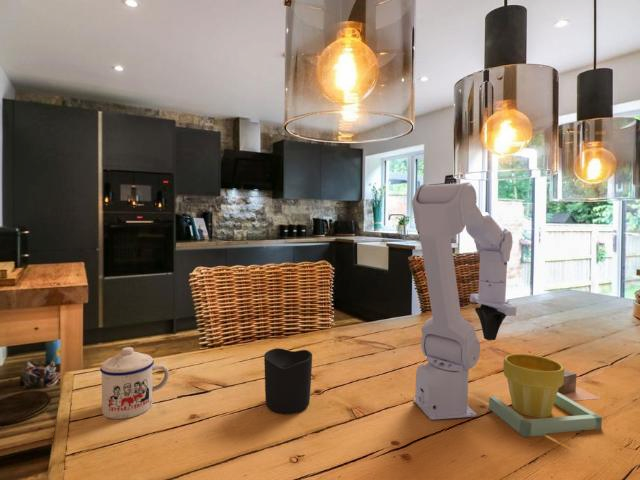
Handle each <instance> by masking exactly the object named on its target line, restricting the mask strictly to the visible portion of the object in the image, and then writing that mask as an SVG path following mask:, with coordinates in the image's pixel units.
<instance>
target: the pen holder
mask: <svg viewBox="0 0 640 480" xmlns="http://www.w3.org/2000/svg"><path fill="white" fill-rule="evenodd" d="M263 355H264V356H263V357H264V361H263V362H264V363H263V364H264V393H265V405H266V407H267V408H268V410H270V411H271V412H273V413H275V414H280V415H294V414H298V413H301V412H303V411H305V410H306V409H307V408H308V407H309V405H310V398H311V387H312V386H311V385H312V384H311V383H312V365H313V353H312V352H311V351H310V350H307V349H300V350H295V351H291V350H288V349H286V348H280V347H279V348H277V347H276V348H272V349H270V350H267V351H266V352H265V353H264V354H263Z"/></svg>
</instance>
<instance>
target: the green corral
mask: <svg viewBox="0 0 640 480" xmlns="http://www.w3.org/2000/svg"><path fill="white" fill-rule="evenodd" d="M554 405H556V406H557V407H559V408H561V409H562V410H564V411H566V412H567V413H568V414H571V415H570V416H569V415H567V416H554V417H542V418H541V417H539V418H530V419H528V418H525V417H524V416H522V415H521V414H519V412H518V411H517V410H516V411H515V409H514V408H511V407H510V406H508V404H506V403H505V402H503V400H502V399H499V398H498V397H496V396H495V395H494V396H493V395H492V396H489V398H488V409H489V410H490V411H491V412H493V413H494V414H495V415H496V416H497V417H499V418H500V419H501V420H502V421H504V422H505V423H506V424H507V425H508V426H510V427H511V428H513V429H514V430H515V432H517V433H518V434H519V435H521V436H522V437H524V438H530V437H532V438H533V437H541V436H548V434H553V433H564V432H565V433H567V432H577V431H589V430H600V429H602V422H603V417H602V416H600V415H599V414H597V413H595V412H593V411H592V410H590V409H589V408H586V407H585V406H582V405H581V404H579V403H577V402H575V401H572V400H571V399H569V398H567V397H565V396H564V395H562V394H560V393H558V392H557V395H556V398H555V402H554Z"/></svg>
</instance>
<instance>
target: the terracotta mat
mask: <svg viewBox="0 0 640 480" xmlns="http://www.w3.org/2000/svg"><path fill="white" fill-rule="evenodd" d="M560 394H561V393H560ZM562 395H563V394H562ZM564 396H565V397H567V398H569V399H571V400H572V401H574V402H575V401H587V400H588V401H589V400H600V399H601V398H600V397H599V396H596V395H594V394H593V393H590V392H588V391H586V390H585V389H583V388H581V387H579V386H577V385H576V392H573V393H569V394H565V395H564Z"/></svg>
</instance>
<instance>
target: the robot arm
mask: <svg viewBox="0 0 640 480" xmlns="http://www.w3.org/2000/svg"><path fill="white" fill-rule="evenodd" d="M411 207H412V211H413V217H414V218H413V219H414V222H415V223H414V225H415V230H416V231H417V232H419V237H420V238H419V239H420V245H421V253H422V261H423V265H424V271H425V278H426V279H425V280H426V283H427V284H426V285H427V291H428V298H429V302H430V304H429V305H430V309H431V317H430V318H428V319H427V320H426V321H425V322H424V324H423V325H422V327H421V341H420V347H421V351H422V354H423V355H424V356H425V357H426V362H427V363H425V364H421V365H418V366H417V368H416V373H415V397H413V401H414V403H415V404H416V405H417V406H418V407H419V408H420V409H421V411H422V412H423V413H424V414H425V416H427V417H428V419H430V420H431V421H434V420H435V421H436V420H449V419H460V418H461V419H462V418H475V417H477V414H478V413H477V412H475V411H474V410H473V409H472V408H471V407H470V406H469V405H468V401H469V398H468V395H469V376H470V375H469V373H470V370H471V369H472V368H473V367H475V366H476V364H477V363H478V362H479V358H480V354H481V343H480V340H479V338H478V336H477V333H476V329H475V326H474V325H473V324H471V323H470V322H469V321H468V320H467V319H466V318H465V317H463V316H462V314H461V306H460V305H461V304H460V297H459V289H458V283H457V275H456V267H455V261H454V259H455V258H454V254H453V252H454V251H453V245H452V238H453V237H454V236H456V235H458V234H461V233H463V231H464V229H465V230H466V232H467V234H468V235H469V236H470V237H471V238H472V239H473V241H474V244H475V248H476V251H477V252H479V268H478V269H479V271H478V272H479V273H478V293H470V294H469V301H470V302H471V303H477V304H479V305H480V306H479V307H475V308H474V311H475V313H476V314H477V317H478V319H479V321H480V326H481V329H482V334H483V338H484V340H486V341H495V340H496V339H497V336H498V334H499V333H498V332H499V330H500V327H501V325H502V323H503V321H504V320H505V319H506V317H511V316H514V317H515V316H517V306H515V305H512V304H511V303H510V299H508V298H507V299H506V295H507V294H506V293H507V291H506V290H507V276H508V275H507V274H508V273H507V271H508V262H510V258H511V251H512V249H513V241H514V240H513V235H512V234H513V233H512V232H511V231H509V230H508V229H506V228H501V227H500V225H499V224H498V223H497V221H495V219H494V218H493V217H492V216H491V214H490V213H489V212H482V211H481V210H480V208H479V207H478V206H477V192H476V189H475V187H474V186H473V184H472V183H471V182H470V181H469V182H468V181H465V182H461V183H459V182H456V183H441V184H440V183H439V184H426V183H423V184H421V185H419V186H418V187H417V189H416V190H415V192H414V195H413V198H412V200H411Z"/></svg>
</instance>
